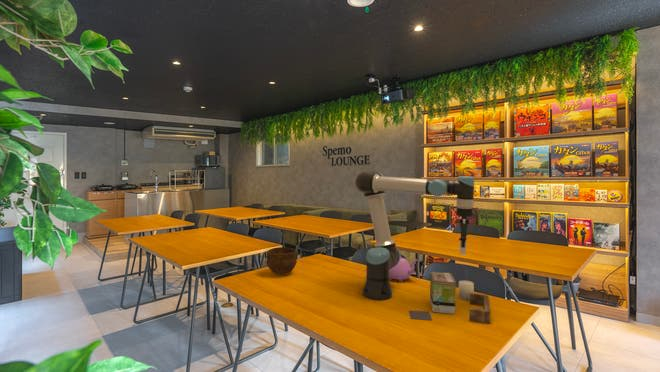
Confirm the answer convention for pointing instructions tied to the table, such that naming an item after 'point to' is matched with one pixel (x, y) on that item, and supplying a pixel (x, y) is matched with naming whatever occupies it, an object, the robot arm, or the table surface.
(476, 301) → the display bay
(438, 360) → the table surface
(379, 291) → the robot arm
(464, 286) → the cream domed cylinder
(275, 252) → the bowl
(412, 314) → the rubber coaster
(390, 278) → the teapot
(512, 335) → the table surface
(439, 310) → the tea box
